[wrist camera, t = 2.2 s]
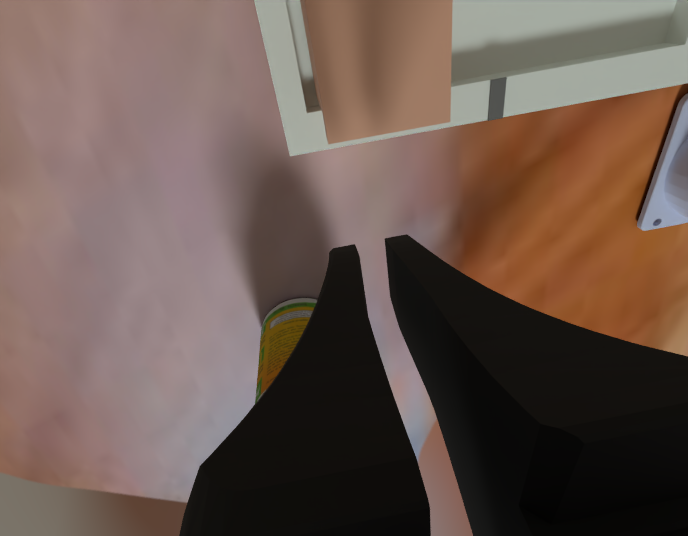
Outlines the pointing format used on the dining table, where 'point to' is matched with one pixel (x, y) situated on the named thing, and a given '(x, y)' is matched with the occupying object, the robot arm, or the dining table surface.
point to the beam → (503, 59)
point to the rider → (379, 64)
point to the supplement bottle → (281, 338)
